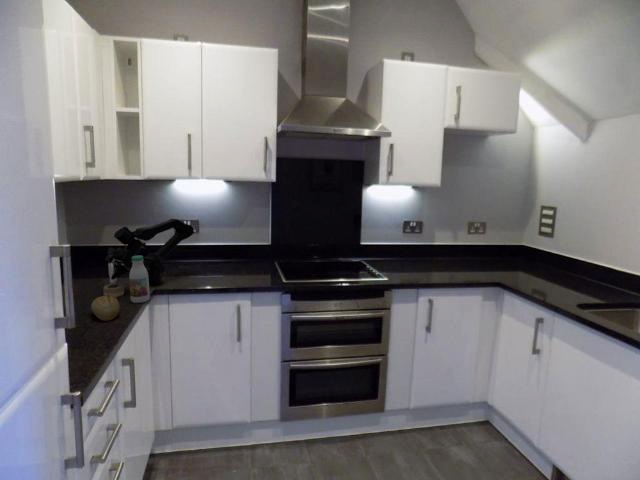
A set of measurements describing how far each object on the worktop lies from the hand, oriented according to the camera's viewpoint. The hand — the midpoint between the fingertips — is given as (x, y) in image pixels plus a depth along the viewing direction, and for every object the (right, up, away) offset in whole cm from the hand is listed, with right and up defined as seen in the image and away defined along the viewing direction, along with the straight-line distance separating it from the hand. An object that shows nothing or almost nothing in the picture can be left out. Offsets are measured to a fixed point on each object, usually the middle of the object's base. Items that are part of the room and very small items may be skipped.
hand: (109, 278), depth 183 cm
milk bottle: (+16, -9, -4) cm, 19 cm away
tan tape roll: (+1, -8, +3) cm, 8 cm away
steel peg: (+1, -7, +2) cm, 7 cm away
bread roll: (+10, -13, -23) cm, 28 cm away
